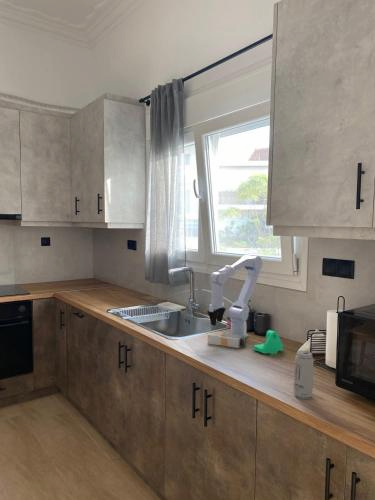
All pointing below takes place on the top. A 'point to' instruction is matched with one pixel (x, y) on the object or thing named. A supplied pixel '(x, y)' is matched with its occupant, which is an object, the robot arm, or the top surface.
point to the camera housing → (230, 335)
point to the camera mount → (270, 343)
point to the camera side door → (224, 341)
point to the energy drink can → (303, 375)
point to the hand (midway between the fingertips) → (216, 323)
